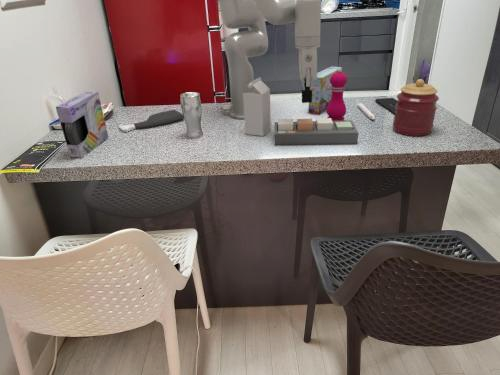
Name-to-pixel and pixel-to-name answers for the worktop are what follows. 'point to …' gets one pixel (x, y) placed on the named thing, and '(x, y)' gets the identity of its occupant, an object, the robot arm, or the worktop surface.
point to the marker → (366, 111)
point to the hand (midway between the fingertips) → (306, 101)
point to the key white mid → (324, 124)
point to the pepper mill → (337, 96)
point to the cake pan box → (82, 123)
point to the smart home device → (388, 104)
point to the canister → (415, 109)
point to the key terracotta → (304, 124)
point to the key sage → (343, 125)
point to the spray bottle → (155, 121)
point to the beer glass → (192, 113)
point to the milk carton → (257, 108)
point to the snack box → (321, 91)
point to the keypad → (315, 136)
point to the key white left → (285, 124)
